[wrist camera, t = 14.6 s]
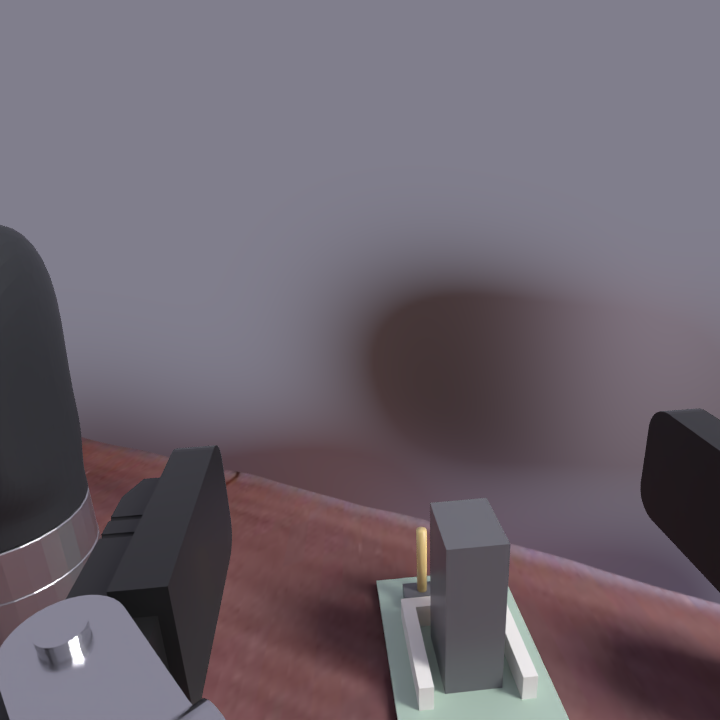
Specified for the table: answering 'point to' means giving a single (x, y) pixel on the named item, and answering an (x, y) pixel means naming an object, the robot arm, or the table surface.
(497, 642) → the block
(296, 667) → the table surface
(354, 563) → the table surface
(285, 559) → the table surface
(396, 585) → the header board
